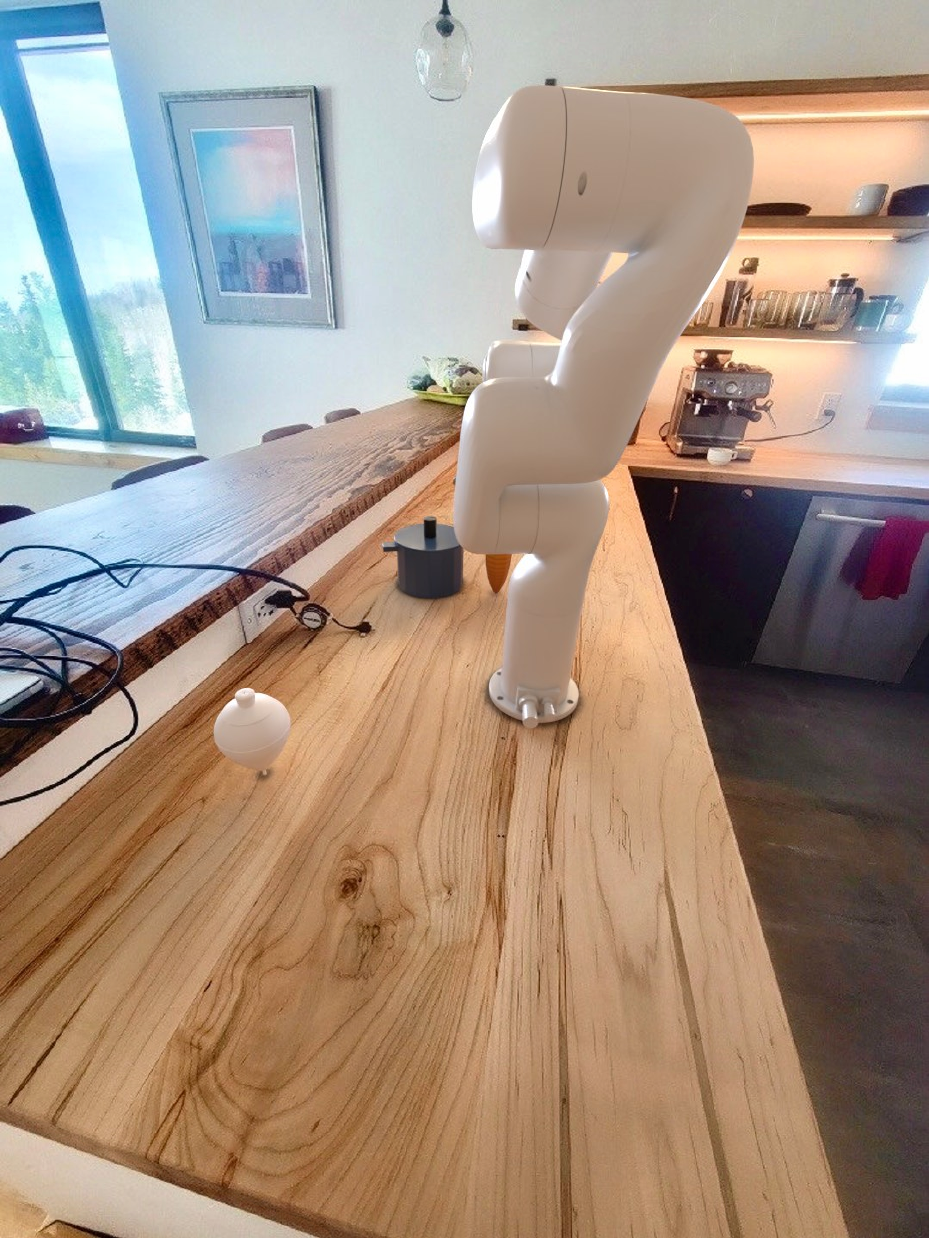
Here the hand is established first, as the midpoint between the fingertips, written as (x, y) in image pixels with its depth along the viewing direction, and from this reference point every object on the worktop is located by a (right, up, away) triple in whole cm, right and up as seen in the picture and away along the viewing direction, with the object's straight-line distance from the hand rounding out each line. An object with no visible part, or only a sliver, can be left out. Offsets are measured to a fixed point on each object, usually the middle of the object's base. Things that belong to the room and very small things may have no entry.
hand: (499, 526), depth 91 cm
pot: (-13, -10, +9) cm, 19 cm away
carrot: (0, -12, +7) cm, 14 cm away
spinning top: (-29, -35, -33) cm, 56 cm away
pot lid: (-13, -2, +4) cm, 14 cm away
